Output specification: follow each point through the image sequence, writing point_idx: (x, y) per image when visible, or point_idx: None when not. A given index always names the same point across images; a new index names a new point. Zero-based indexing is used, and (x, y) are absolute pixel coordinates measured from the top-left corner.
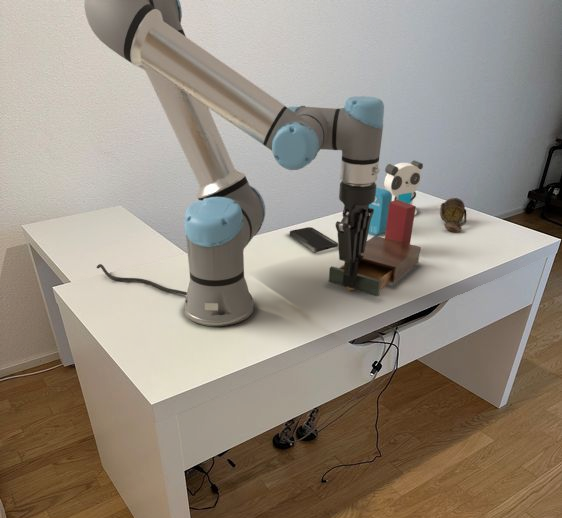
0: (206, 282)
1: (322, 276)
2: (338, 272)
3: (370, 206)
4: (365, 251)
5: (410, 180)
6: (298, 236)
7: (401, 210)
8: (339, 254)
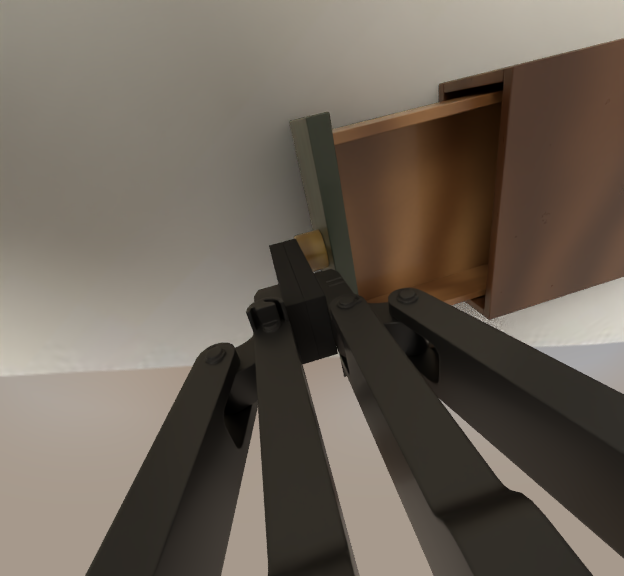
0: None
1: (347, 6)
2: (315, 179)
3: None
4: (584, 121)
5: None
6: None
7: None
8: (182, 393)
